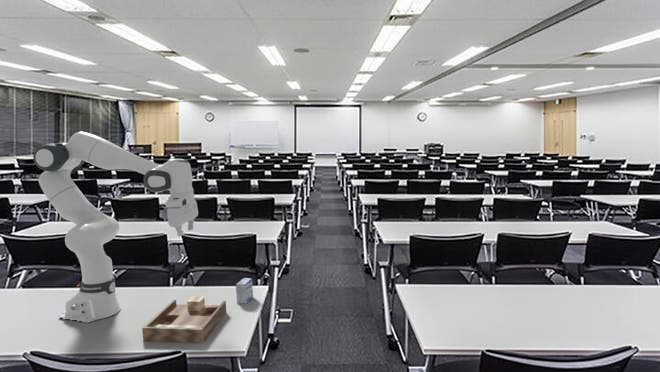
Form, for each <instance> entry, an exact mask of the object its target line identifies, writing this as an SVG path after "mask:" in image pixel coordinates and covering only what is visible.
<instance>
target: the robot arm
mask: <svg viewBox="0 0 660 372" xmlns="http://www.w3.org/2000/svg"><path fill="white" fill-rule="evenodd" d="M32 157H33V162H34V164H35V166H36V167H37V168H39V169H40V170H42V171H43V172H42V173H41V174H40V176H39V177H38V183H39V187H40V189H41V190H42V192H43V193H44V196H45V197H46V198H47V200H48V201H49V203H50V204H51V205H52V207H53V208H54V209H55V210H56V212H57V213H58V214H59V216H60V217H61V218H62V219H64V220H66V221H69V222H71V223H73V224H75V226H73V227H71V228H70V229H69V230H68V231H67V232H66V234H65V237H64V242H65V243H64V244H65V246H66V248H68V249H69V250H70V251H71V252H73V253H74V254H75V255H76V257H77V259H78V262H79V264H80V270H81V271H80V272H81V277H82V281H79V283H78V284H76V288H79V290H78V291H77V292H76V293H74V294H73V295H72V296H71V297H69V299H68V300H67V301H66V304H65V309H64V310H63V311H62V312H61V313H60V314H59V316H58V317H59V319H60V318H64V319H63V320H65V319H70V320H69V321H72V320H77V321H76V322H79V321H82V322H81V323H91V322H94V321H96V320H101V319H105V318H109V317H111V316H113V315H116V314H118V313H119V312H120V311H121V309H122V308H121V306H120V303H119V302H118V301H119V300H118V298H117V293H116V280H115V276H114V272H113V262H112V261H113V260H112V258H111V257H110V256H109V255H107V253H106V251H105V250H104V245H105V244H106V243H108V242H110V241H112V240H113V239H114V238H115V237H116V236H118V233H119V231H120V224H119V223H118V221H117V219H115V218H114V217H112V216H109V215H108V214H105V213H104V212H102V211H101V210H100V209H98V208H97V207H95V206H94V205H93V204H92V203H91V202H90V201H89V200H88V199H87V197H86V196H85V195H84V194H83V192H82V191H81V190H80V189H79V187H78V185H76V184H75V183H76V182H74V181H73V179H72V178H71V175H72V174H75V173H76V172H77V171H78V169H79V168H81V166H83V164H84V163H85V162H86V163H89V164H90V165H93V166H95V167H97V168H100V169H103V170H108V171H110V170H111V171H115V170H130V171H133V172H137V173H139V174H142V175H144V176H143V185H144V187H145V188H146V190H148V191H150V192H152V193H162V192H164V191H165V192H166V191H169V194H170V195H169V197H168V199H167V200H166V201H165V208H167V209H166V213H167V215H166V217H167V222H168V225H169V227H170V228H174V229H175V231H176V232H177V237H182V236H184V230H183V229H182V227H183V225H184V224H187V223H188V224H187V230H188V231H192V230H194V223H195V218H197V217H199V209H198V207H199V206H198V203H197V200H195V194H194V193H195V191H194V187H193V173H192V167H191V164H190V162H189V161H188V160H187V159H185V158H184V159H183V158H178V157H177V158H176V157H175V158H169V159H168V160H167V161H166V162H164V163H163V164H159V163H157V162H155V161H152V160H149V159H147V158H145V157H142V156H141V155H140V156H139V155H137V154H135V153H132V152H131V151H128V150H126V149H125V148H122V147H121V146H119V145H118V144H115V143H113V142H111V141H109V140H108V139H105V138H103V137H100V136H98V135H95V134H92V133H89V132H84V131H77V132H75V133H73V135H71V137H70V138H69V139H68V142H55V143H54V142H53V143H51V142H50V143H45V144H42V145H40V146H38V147H37V148H35V150H34V153H33V156H32Z"/></svg>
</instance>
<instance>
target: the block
mask: <svg viewBox="0 0 660 372" xmlns="http://www.w3.org/2000/svg"><path fill="white" fill-rule="evenodd" d="M186 305H188V311H201V310H202V309H203V308H204V306H205V305H206V302H205V296H194V295H193V296H191V297H190V298H189V299H188V300H187V304H186Z"/></svg>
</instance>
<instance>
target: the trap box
mask: <svg viewBox="0 0 660 372" xmlns="http://www.w3.org/2000/svg"><path fill="white" fill-rule="evenodd" d="M226 302H227V301H226V300H222V301H221V303H220V304H219V305H218V304H217V305H216V304H213V305H212V304H205V306H204V308H203V309H202V310H201V311H188V305H187V304H177V299H173V300H171V301H170V302H169V303H168V304H167V305H166V306H165V307H164V308H163V309H161V311H159V312H158V313H157V314H156V315H155V316H154V317H153V318H152V319H150V320H149V321H148V322H147V323H146V324H144V326H142V328H141V330H142V340H143V342H153V343H155V342H156V343H157V342H160V343H183V344H184V343H186V344H187V343H191V344H204V343H205V342H206V340H207V339H208V337H209V336H210V334H211V333H212V332H213V331H214V329H215V328H216V326H218V325H219V323H220V321H221V320H222V319H223V318H224V316H225V315H226V314H227V303H226Z"/></svg>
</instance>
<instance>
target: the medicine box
mask: <svg viewBox="0 0 660 372" xmlns="http://www.w3.org/2000/svg"><path fill="white" fill-rule="evenodd" d="M253 288H254V287H253V278H249V277H243V278H242V279H240V280H239V281H238V282H237V283H236V284H235V292H236V294H235V295H236V303H237V304H244V305H247V303H248V302H249V301H250V300H251V299H252V298H253V297H254V292H253V291H254V289H253Z"/></svg>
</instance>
